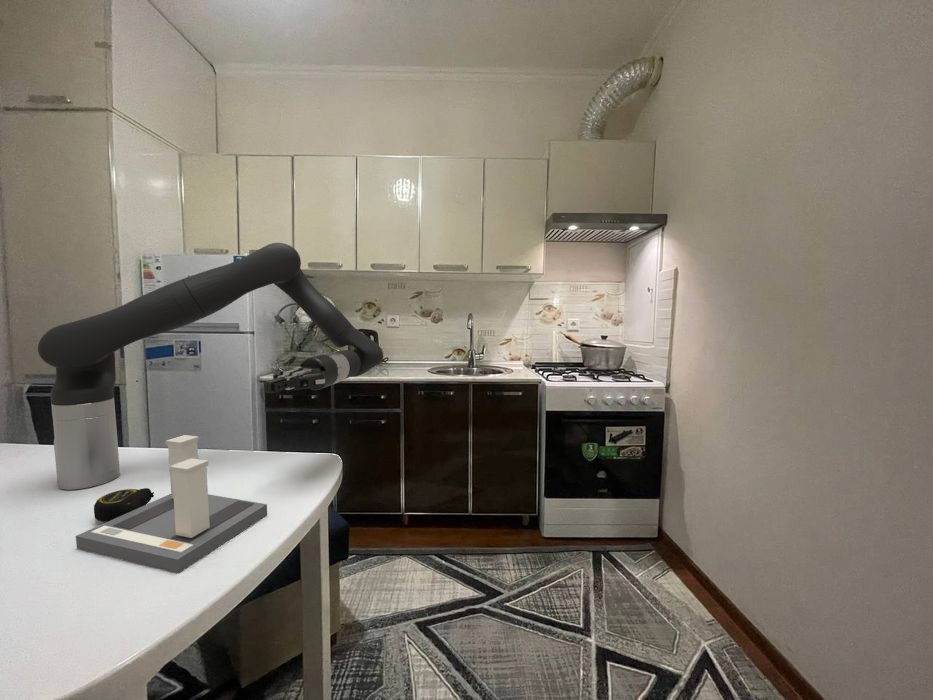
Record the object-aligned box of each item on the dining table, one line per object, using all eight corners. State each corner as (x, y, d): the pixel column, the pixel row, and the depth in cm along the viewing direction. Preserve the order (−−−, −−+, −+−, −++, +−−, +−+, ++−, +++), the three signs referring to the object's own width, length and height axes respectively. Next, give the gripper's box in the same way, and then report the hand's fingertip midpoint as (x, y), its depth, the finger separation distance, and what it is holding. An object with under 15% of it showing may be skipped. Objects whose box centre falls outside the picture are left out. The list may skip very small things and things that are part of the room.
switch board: (76, 548, 58) (75, 534, 58) (180, 499, 73) (180, 488, 73) (178, 573, 53) (177, 558, 52) (267, 514, 68) (266, 503, 68)
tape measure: (133, 523, 65) (131, 502, 65) (84, 529, 63) (82, 507, 63) (154, 504, 72) (153, 485, 71) (110, 508, 70) (109, 488, 70)
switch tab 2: (173, 535, 58) (169, 466, 57) (194, 523, 61) (191, 458, 60) (191, 539, 57) (187, 469, 56) (211, 526, 60) (208, 460, 59)
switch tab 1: (169, 498, 69) (165, 440, 68) (187, 490, 72) (184, 434, 71) (184, 501, 68) (180, 442, 67) (201, 492, 71) (198, 436, 70)
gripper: (301, 351, 91) (239, 365, 75) (349, 356, 87) (295, 372, 71) (302, 382, 92) (241, 402, 76) (350, 388, 88) (296, 411, 72)
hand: (267, 388), depth 73 cm, fingers closed
